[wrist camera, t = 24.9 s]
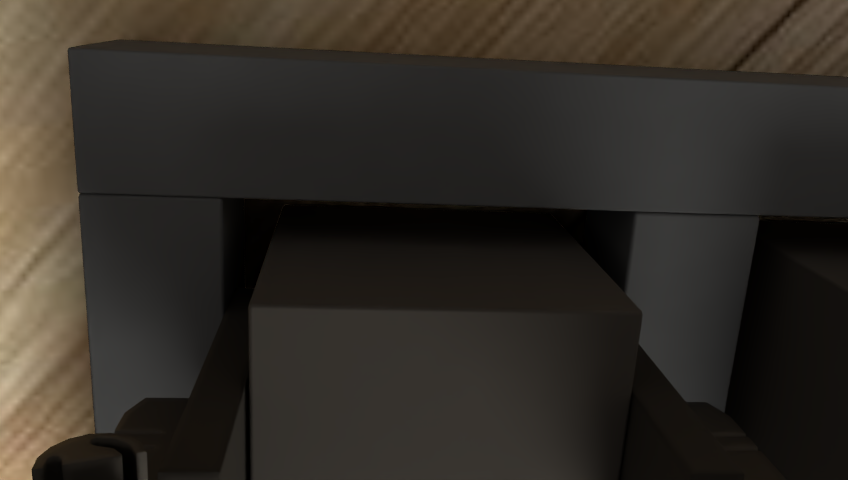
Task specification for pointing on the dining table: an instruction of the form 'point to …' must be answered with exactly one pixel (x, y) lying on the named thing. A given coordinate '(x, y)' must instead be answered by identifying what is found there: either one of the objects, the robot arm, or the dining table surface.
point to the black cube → (436, 349)
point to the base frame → (431, 180)
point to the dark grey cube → (795, 350)
